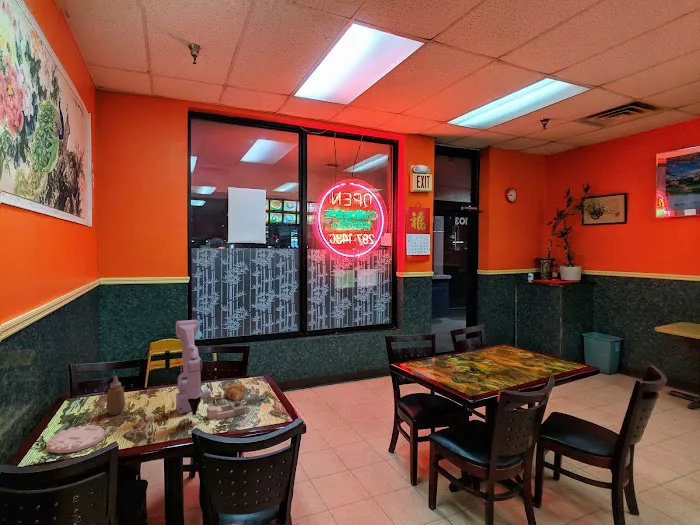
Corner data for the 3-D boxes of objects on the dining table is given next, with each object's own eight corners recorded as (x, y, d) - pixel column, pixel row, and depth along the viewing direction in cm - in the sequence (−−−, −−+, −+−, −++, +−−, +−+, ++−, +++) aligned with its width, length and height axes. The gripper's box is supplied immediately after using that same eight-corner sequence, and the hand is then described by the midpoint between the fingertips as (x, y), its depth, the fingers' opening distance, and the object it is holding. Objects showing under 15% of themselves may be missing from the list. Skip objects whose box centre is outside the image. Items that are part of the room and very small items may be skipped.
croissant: (242, 408, 210) (250, 394, 211) (225, 402, 206) (232, 387, 207) (237, 393, 229) (244, 380, 230) (221, 387, 226) (228, 374, 227)
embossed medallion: (68, 459, 154) (67, 452, 154) (34, 448, 161) (34, 441, 161) (115, 436, 172) (115, 429, 172) (83, 427, 179) (83, 421, 179)
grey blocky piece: (217, 419, 188) (217, 410, 188) (212, 412, 197) (212, 402, 197) (245, 413, 195) (245, 404, 195) (238, 406, 204) (238, 397, 203)
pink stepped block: (209, 419, 189) (209, 410, 189) (207, 415, 193) (207, 407, 193) (222, 416, 192) (222, 408, 192) (219, 413, 196) (219, 404, 196)
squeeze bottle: (116, 417, 190) (116, 379, 189) (102, 415, 192) (101, 378, 191) (129, 410, 198) (128, 374, 197) (115, 408, 200) (114, 373, 199)
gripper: (178, 390, 179) (178, 420, 180) (212, 384, 187) (212, 413, 188) (176, 385, 185) (176, 414, 186) (208, 380, 193) (208, 408, 194)
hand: (194, 413), depth 187 cm, fingers closed
